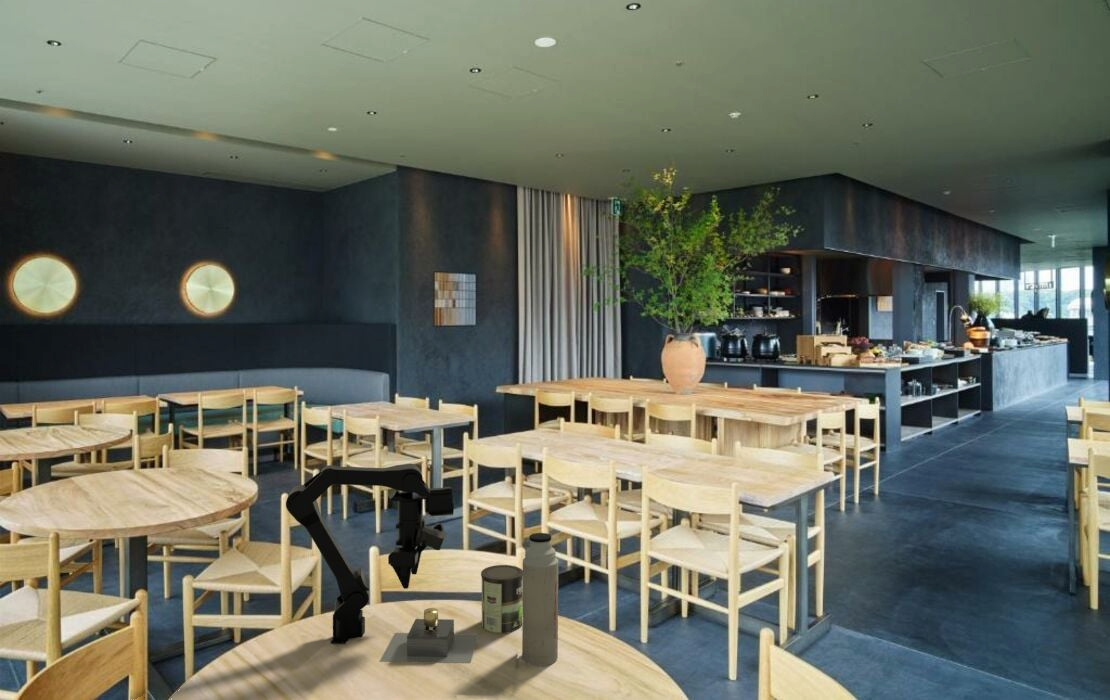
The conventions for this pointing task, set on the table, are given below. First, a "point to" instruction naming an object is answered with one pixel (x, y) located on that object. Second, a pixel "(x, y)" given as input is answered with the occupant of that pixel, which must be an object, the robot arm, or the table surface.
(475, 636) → the slate board
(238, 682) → the table surface
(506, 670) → the table surface
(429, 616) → the golden knob
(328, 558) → the robot arm
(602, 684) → the table surface
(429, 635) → the grey knob block
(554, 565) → the thermos bottle
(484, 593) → the coffee can
